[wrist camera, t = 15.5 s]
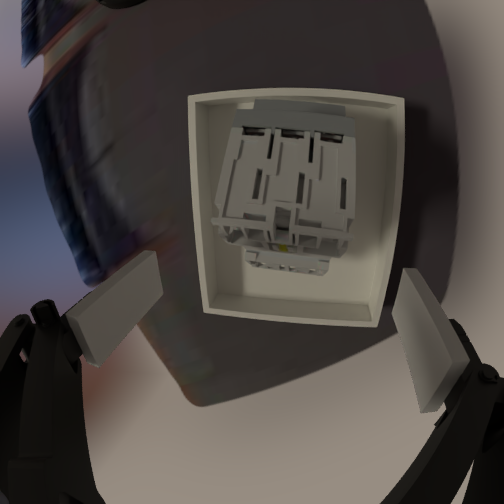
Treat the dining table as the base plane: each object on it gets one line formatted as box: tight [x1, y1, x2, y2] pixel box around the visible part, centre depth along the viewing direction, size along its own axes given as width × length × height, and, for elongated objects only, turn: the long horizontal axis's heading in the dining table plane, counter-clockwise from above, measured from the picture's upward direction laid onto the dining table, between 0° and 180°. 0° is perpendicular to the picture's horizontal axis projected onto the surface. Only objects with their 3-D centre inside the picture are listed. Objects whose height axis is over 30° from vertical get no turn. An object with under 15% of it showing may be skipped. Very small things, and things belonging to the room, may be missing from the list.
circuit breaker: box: [211, 99, 356, 276], centre depth 22 cm, size 8×14×15 cm
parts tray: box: [188, 88, 405, 327], centre depth 29 cm, size 26×22×4 cm
